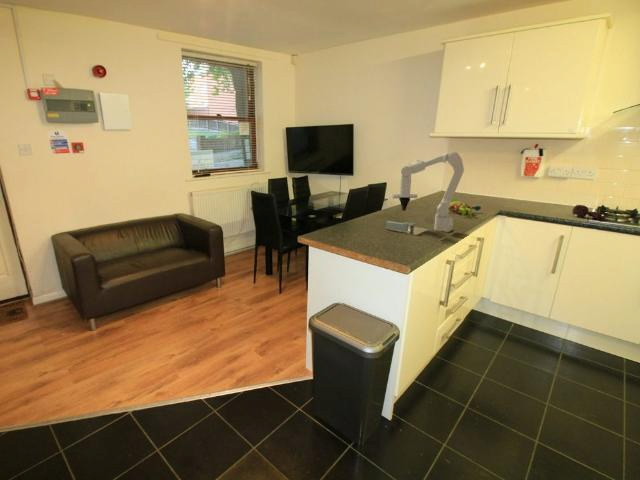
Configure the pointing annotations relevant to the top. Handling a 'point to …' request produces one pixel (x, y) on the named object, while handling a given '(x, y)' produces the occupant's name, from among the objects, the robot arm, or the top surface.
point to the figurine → (587, 212)
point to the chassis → (412, 230)
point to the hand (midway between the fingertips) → (403, 210)
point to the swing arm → (399, 225)
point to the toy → (462, 208)
